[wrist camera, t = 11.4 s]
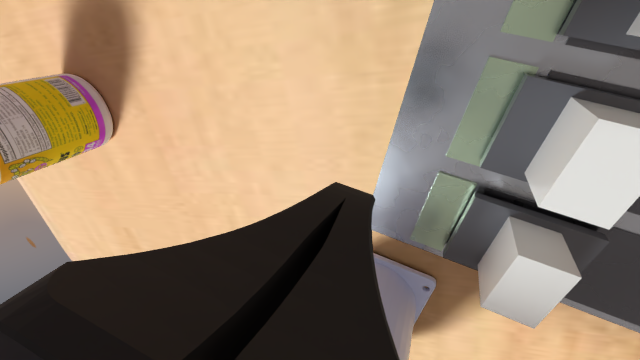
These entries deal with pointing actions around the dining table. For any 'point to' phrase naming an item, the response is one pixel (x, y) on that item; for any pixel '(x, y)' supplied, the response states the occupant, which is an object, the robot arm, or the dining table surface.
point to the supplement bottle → (49, 122)
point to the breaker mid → (570, 148)
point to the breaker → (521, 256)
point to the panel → (482, 122)
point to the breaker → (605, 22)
